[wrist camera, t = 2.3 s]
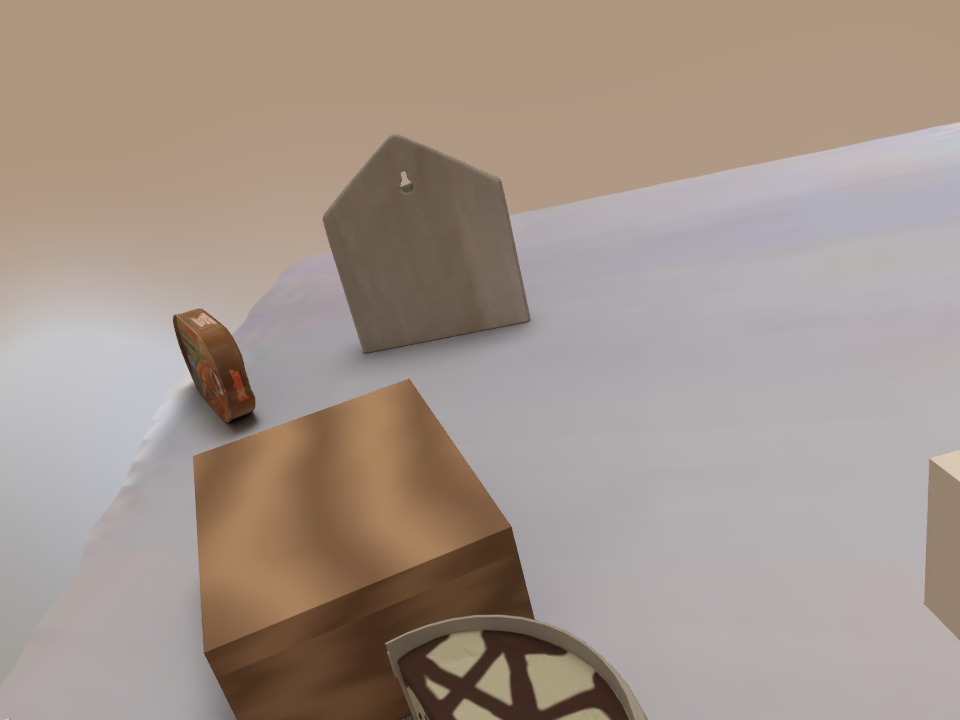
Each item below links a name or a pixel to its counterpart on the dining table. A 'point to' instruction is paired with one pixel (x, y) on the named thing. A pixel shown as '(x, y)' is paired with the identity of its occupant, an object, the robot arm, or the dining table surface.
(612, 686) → the food container
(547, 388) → the dining table surface
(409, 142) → the planter
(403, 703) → the walnut shelf
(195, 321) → the tin
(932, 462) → the robot arm
